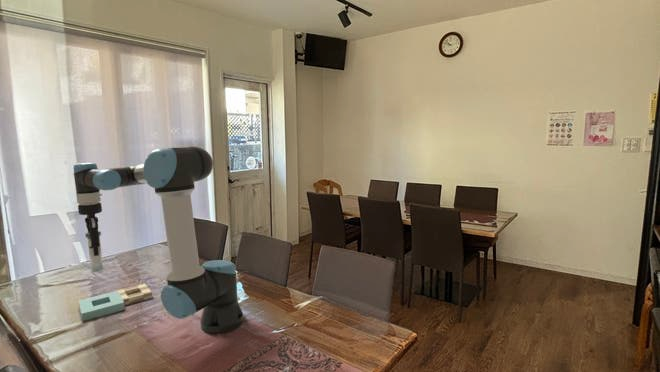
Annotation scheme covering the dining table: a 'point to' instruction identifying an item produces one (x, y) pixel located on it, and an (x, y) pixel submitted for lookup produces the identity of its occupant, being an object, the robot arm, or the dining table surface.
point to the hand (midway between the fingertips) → (96, 261)
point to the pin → (94, 267)
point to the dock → (101, 305)
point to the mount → (135, 294)
